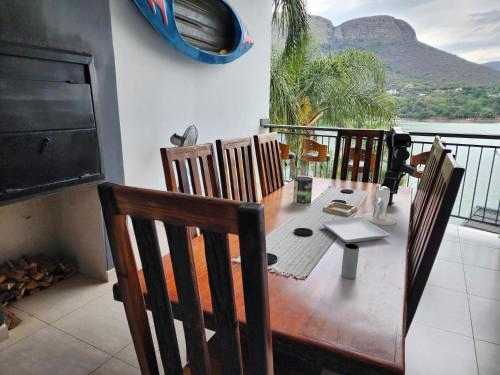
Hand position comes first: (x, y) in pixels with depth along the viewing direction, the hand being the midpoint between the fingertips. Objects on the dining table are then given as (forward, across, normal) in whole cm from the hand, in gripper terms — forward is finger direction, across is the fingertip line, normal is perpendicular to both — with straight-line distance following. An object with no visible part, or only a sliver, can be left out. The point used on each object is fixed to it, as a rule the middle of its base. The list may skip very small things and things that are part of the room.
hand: (394, 188), depth 158 cm
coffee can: (+13, -14, +44) cm, 48 cm away
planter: (+13, -74, -7) cm, 75 cm away
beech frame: (+13, -13, +22) cm, 29 cm away
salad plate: (+14, -39, +5) cm, 42 cm away
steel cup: (+13, -13, +2) cm, 18 cm away
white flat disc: (+13, -13, +2) cm, 18 cm away
